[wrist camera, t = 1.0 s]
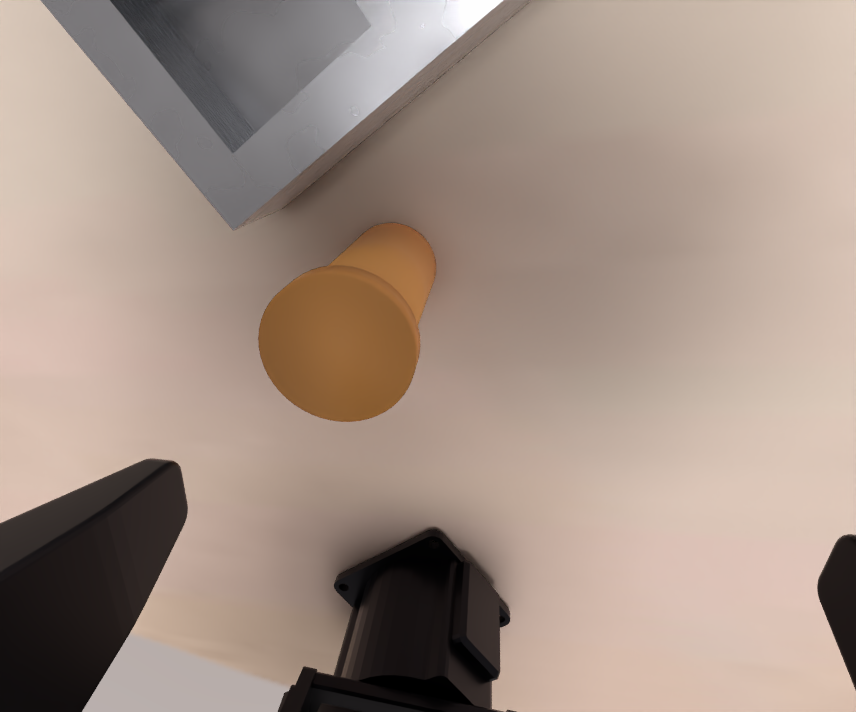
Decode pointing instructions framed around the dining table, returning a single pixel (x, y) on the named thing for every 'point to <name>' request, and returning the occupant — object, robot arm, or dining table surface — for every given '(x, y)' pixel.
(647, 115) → the dining table surface
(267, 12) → the grey slotted base
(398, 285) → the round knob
